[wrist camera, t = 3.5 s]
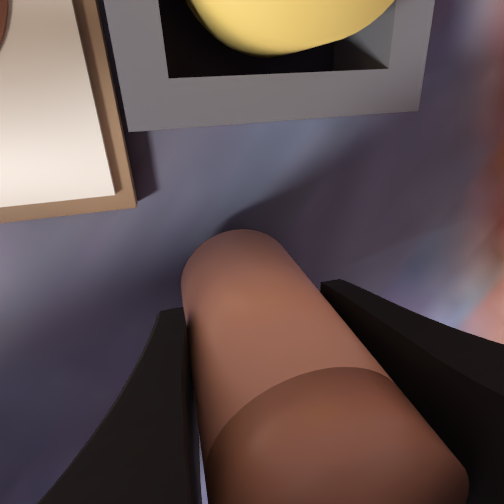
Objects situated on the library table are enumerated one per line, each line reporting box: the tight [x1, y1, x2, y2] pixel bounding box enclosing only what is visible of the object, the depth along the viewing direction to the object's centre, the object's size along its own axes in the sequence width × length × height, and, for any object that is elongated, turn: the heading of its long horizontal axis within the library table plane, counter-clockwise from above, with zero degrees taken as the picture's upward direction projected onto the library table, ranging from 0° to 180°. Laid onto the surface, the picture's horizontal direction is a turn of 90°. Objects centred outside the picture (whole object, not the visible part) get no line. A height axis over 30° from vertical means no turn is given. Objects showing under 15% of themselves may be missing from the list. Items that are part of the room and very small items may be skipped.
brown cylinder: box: [181, 229, 469, 504], centre depth 9 cm, size 4×4×8 cm
